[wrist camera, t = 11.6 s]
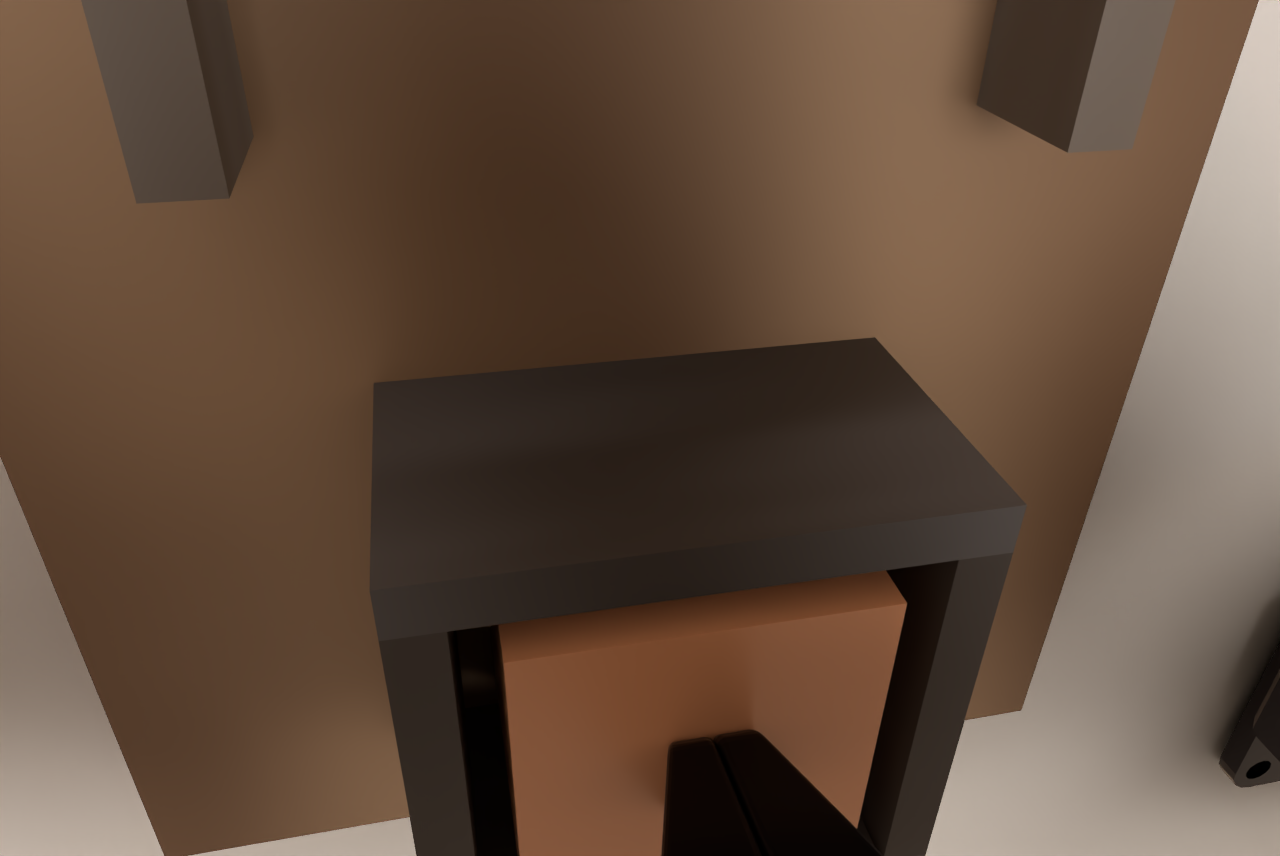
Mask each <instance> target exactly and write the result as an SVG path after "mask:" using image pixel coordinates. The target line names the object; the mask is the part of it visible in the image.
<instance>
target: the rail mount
mask: <svg viewBox="0 0 1280 856" xmlns="http://www.w3.org/2000/svg"><path fill="white" fill-rule="evenodd" d="M1258 1H1259V0H0V457H1V459H2V462H3V464H4V466H5V469H6V471H7V474H8V476H9V479H10V481H11V483H12V486H13V488H14V491H15V493H16V496H17V498H18V500H19V503H20V505H21V508H22V510H23V513H24V515H25V518H26V520H27V522H28V525H29V527H30V530H31V532H32V535H33V537H34V539H35V542H36V544H37V547H38V549H39V552H40V554H41V556H42V559H43V561H44V564H45V566H46V569H47V571H48V574H49V576H50V578H51V581H52V583H53V586H54V588H55V591H56V593H57V595H58V598H59V600H60V603H61V605H62V608H63V610H64V612H65V615H66V617H67V620H68V622H69V625H70V627H71V630H72V632H73V634H74V637H75V639H76V642H77V644H78V647H79V649H80V651H81V654H82V656H83V659H84V661H85V664H86V666H87V668H88V671H89V673H90V676H91V678H92V681H93V683H94V686H95V688H96V690H97V693H98V695H99V698H100V700H101V703H102V705H103V707H104V710H105V712H106V715H107V717H108V720H109V722H110V724H111V727H112V729H113V732H114V734H115V737H116V739H117V741H118V744H119V746H120V749H121V751H122V754H123V756H124V759H125V761H126V763H127V766H128V768H129V771H130V773H131V776H132V778H133V780H134V783H135V785H136V788H137V790H138V793H139V795H140V797H141V800H142V802H143V805H144V807H145V810H146V812H147V815H148V817H149V819H150V822H151V824H152V827H153V829H154V832H155V834H156V836H157V839H158V841H159V844H160V846H161V849H162V851H163V853H164V856H188V855H194V854H200V853H205V852H211V851H217V850H223V849H228V848H234V847H240V846H245V845H251V844H257V843H263V842H268V841H274V840H280V839H286V838H291V837H297V836H303V835H309V834H314V833H320V832H326V831H332V830H337V829H343V828H349V827H355V826H360V825H366V824H372V823H377V822H383V821H389V820H395V819H400V818H406V817H410V821H411V827H412V832H413V838H414V844H415V849H416V855H417V856H517V849H516V841H515V832H514V824H513V816H512V808H511V800H510V792H509V784H508V776H507V768H506V760H505V752H504V744H503V736H502V728H501V720H500V712H499V704H498V696H497V688H496V680H495V669H494V658H493V647H492V636H491V625H499V624H506V623H513V622H520V621H527V620H534V619H541V618H549V617H556V616H563V615H570V614H577V613H584V612H592V611H599V610H606V609H613V608H620V607H627V606H634V605H642V604H649V603H656V602H663V601H670V600H677V599H684V598H692V597H699V596H706V595H713V594H720V593H727V592H734V591H742V590H749V589H756V588H763V587H770V586H777V585H784V584H792V583H799V582H806V581H813V580H820V579H827V578H834V577H842V576H849V575H856V574H863V573H870V572H877V571H884V570H886V571H887V573H888V574H889V576H890V578H891V579H892V581H893V582H894V584H895V585H896V587H897V588H898V590H899V591H900V593H901V595H902V596H903V598H904V599H905V601H906V602H907V607H906V611H905V616H904V620H903V625H902V629H901V634H900V638H899V643H898V647H897V652H896V656H895V661H894V665H893V670H892V674H891V679H890V683H889V688H888V692H887V697H886V701H885V706H884V710H883V715H882V719H881V724H880V728H879V733H878V737H877V742H876V746H875V751H874V755H873V760H872V764H871V769H870V773H869V778H868V782H867V787H866V791H865V795H864V800H863V804H862V809H861V813H860V818H859V822H858V827H857V830H858V831H859V832H860V833H861V834H862V835H863V836H864V837H865V838H866V839H867V840H868V841H869V842H870V843H871V844H872V845H873V846H874V847H875V848H876V849H877V850H878V851H879V852H880V853H881V854H882V855H883V856H925V854H926V851H927V848H928V844H929V841H930V837H931V834H932V830H933V827H934V823H935V820H936V817H937V813H938V810H939V806H940V803H941V799H942V796H943V792H944V789H945V786H946V782H947V779H948V775H949V772H950V768H951V765H952V762H953V758H954V755H955V751H956V748H957V744H958V741H959V737H960V734H961V731H962V727H963V724H964V720H969V719H974V718H980V717H986V716H992V715H997V714H1003V713H1009V712H1015V711H1020V710H1021V709H1022V706H1023V703H1024V700H1025V697H1026V694H1027V691H1028V688H1029V685H1030V682H1031V679H1032V677H1033V674H1034V671H1035V668H1036V665H1037V662H1038V659H1039V656H1040V653H1041V650H1042V647H1043V644H1044V641H1045V638H1046V635H1047V632H1048V629H1049V626H1050V623H1051V620H1052V617H1053V614H1054V611H1055V608H1056V605H1057V602H1058V599H1059V596H1060V593H1061V590H1062V587H1063V584H1064V581H1065V578H1066V575H1067V572H1068V569H1069V566H1070V563H1071V560H1072V557H1073V554H1074V551H1075V548H1076V545H1077V542H1078V539H1079V536H1080V533H1081V530H1082V527H1083V524H1084V521H1085V518H1086V515H1087V512H1088V509H1089V506H1090V503H1091V500H1092V497H1093V494H1094V491H1095V488H1096V485H1097V482H1098V479H1099V476H1100V473H1101V470H1102V467H1103V464H1104V461H1105V458H1106V455H1107V452H1108V449H1109V446H1110V443H1111V440H1112V437H1113V434H1114V431H1115V428H1116V425H1117V422H1118V419H1119V416H1120V413H1121V410H1122V407H1123V404H1124V401H1125V398H1126V395H1127V392H1128V390H1129V387H1130V384H1131V381H1132V378H1133V375H1134V372H1135V369H1136V366H1137V363H1138V360H1139V357H1140V354H1141V351H1142V348H1143V345H1144V342H1145V339H1146V336H1147V333H1148V330H1149V327H1150V324H1151V321H1152V318H1153V315H1154V312H1155V309H1156V306H1157V303H1158V300H1159V297H1160V294H1161V291H1162V288H1163V285H1164V282H1165V279H1166V276H1167V273H1168V270H1169V267H1170V264H1171V261H1172V258H1173V255H1174V252H1175V249H1176V246H1177V243H1178V240H1179V237H1180V234H1181V231H1182V228H1183V225H1184V222H1185V219H1186V216H1187V213H1188V210H1189V207H1190V204H1191V201H1192V198H1193V195H1194V192H1195V189H1196V186H1197V183H1198V180H1199V177H1200V174H1201V171H1202V168H1203V165H1204V162H1205V159H1206V156H1207V153H1208V150H1209V147H1210V144H1211V141H1212V138H1213V135H1214V132H1215V129H1216V126H1217V123H1218V120H1219V117H1220V114H1221V111H1222V108H1223V105H1224V103H1225V100H1226V97H1227V94H1228V91H1229V88H1230V85H1231V82H1232V79H1233V76H1234V73H1235V70H1236V67H1237V64H1238V61H1239V58H1240V55H1241V52H1242V49H1243V46H1244V43H1245V40H1246V37H1247V34H1248V31H1249V28H1250V25H1251V22H1252V19H1253V16H1254V13H1255V10H1256V7H1257V4H1258Z"/></svg>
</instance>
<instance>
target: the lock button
mask: <svg viewBox="0 0 1280 856" xmlns="http://www.w3.org/2000/svg"><path fill="white" fill-rule="evenodd" d="M906 607H907V602H906V601H905V599H904V598H903V596H902V595H901V593H900V591H899V590H898V588H897V587H896V585H895V584H894V582H893V581H892V579H891V578H890V576H889V574H888V573H887V571H886V570H884V571H877V572H870V573H863V574H856V575H849V576H842V577H834V578H827V579H820V580H813V581H806V582H799V583H792V584H784V585H777V586H770V587H763V588H756V589H749V590H742V591H734V592H727V593H720V594H713V595H706V596H699V597H692V598H684V599H677V600H670V601H663V602H656V603H649V604H642V605H634V606H627V607H620V608H613V609H606V610H599V611H592V612H584V613H577V614H570V615H563V616H556V617H549V618H541V619H534V620H527V621H520V622H513V623H506V624H499V625H491V636H492V647H493V658H494V669H495V680H496V688H497V696H498V704H499V712H500V720H501V728H502V736H503V744H504V752H505V760H506V768H507V776H508V784H509V792H510V800H511V808H512V816H513V824H514V832H515V841H516V849H517V856H661V849H662V833H663V817H664V801H665V785H666V769H667V753H668V747H669V745H670V744H671V743H673V742H677V741H683V740H689V739H695V738H701V737H708V738H710V739H711V740H712V741H713V740H714V738H715V737H716V736H717V735H720V734H725V733H731V732H737V731H743V730H749V729H750V730H756V731H758V732H760V733H761V734H763V735H764V736H765V737H766V738H767V739H768V740H769V741H770V742H771V743H772V744H773V745H774V746H775V747H776V748H777V749H778V750H779V751H780V752H781V753H782V754H783V755H784V756H785V757H786V758H787V759H788V760H789V761H790V762H791V763H792V764H793V765H794V766H795V767H796V768H797V769H798V770H799V771H800V772H801V773H802V774H803V775H804V776H805V777H806V778H807V779H808V780H809V781H810V782H811V783H812V784H813V785H814V786H815V787H816V788H817V789H818V790H819V791H820V792H821V793H822V794H823V795H824V796H825V797H826V798H827V799H828V800H829V801H830V802H831V803H832V804H833V805H834V806H835V807H836V808H837V809H838V810H839V811H840V812H841V813H842V814H843V815H844V816H845V817H846V818H847V819H848V820H849V821H850V822H851V823H852V824H853V825H854V827H855V828H856V829H857V827H858V822H859V818H860V813H861V809H862V804H863V800H864V795H865V791H866V787H867V782H868V778H869V773H870V769H871V764H872V760H873V755H874V751H875V746H876V742H877V737H878V733H879V728H880V724H881V719H882V715H883V710H884V706H885V701H886V697H887V692H888V688H889V683H890V679H891V674H892V670H893V665H894V661H895V656H896V652H897V647H898V643H899V638H900V634H901V629H902V625H903V620H904V616H905V611H906Z"/></svg>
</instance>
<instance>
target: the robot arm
mask: <svg viewBox="0 0 1280 856" xmlns="http://www.w3.org/2000/svg"><path fill="white" fill-rule="evenodd" d="M1219 765H1220V767H1221V769H1222V770H1223V771H1224V772H1225V773H1226V775H1227V776H1228V777H1229V778H1230V779H1231V780H1232V781H1233V783H1234V784H1235V785H1236V786H1239V787H1251V786H1256V785H1261V784H1266V783H1271V782H1276V781H1280V643H1279V645H1278V647H1277V649H1276V651H1275V653H1274V654H1273V656H1272V658H1271V660H1270V662H1269V664H1268V666H1267V668H1266V670H1265V672H1264V674H1263V676H1262V678H1261V680H1260V682H1259V684H1258V685H1257V687H1256V689H1255V691H1254V693H1253V695H1252V697H1251V699H1250V701H1249V703H1248V705H1247V707H1246V709H1245V711H1244V713H1243V715H1242V716H1241V718H1240V720H1239V722H1238V724H1237V726H1236V728H1235V730H1234V732H1233V734H1232V736H1231V738H1230V740H1229V742H1228V744H1227V746H1226V747H1225V749H1224V751H1223V753H1222V755H1221V757H1220V761H1219ZM661 856H883V855H882V854H881V853H880V852H879V851H878V850H877V849H876V848H875V847H874V846H873V845H872V844H871V843H870V842H869V841H868V840H867V839H866V838H865V837H864V836H863V835H862V834H861V833H860V832H859V831H858V830H857V829H856V828H855V827H854V825H853V824H852V823H851V822H850V821H849V820H848V819H847V818H846V817H845V816H844V815H843V814H842V813H841V812H840V811H839V810H838V809H837V808H836V807H835V806H834V805H833V804H832V803H831V802H830V801H829V800H828V799H827V798H826V797H825V796H824V795H823V794H822V793H821V792H820V791H819V790H818V789H817V788H816V787H815V786H814V785H813V784H812V783H811V782H810V781H809V780H808V779H807V778H806V777H805V776H804V775H803V774H802V773H801V772H800V771H799V770H798V769H797V768H796V767H795V766H794V765H793V764H792V763H791V762H790V761H789V760H788V759H787V758H786V757H785V756H784V755H783V754H782V753H781V752H780V751H779V750H778V749H777V748H776V747H775V746H774V745H773V744H772V743H771V742H770V741H769V740H768V739H767V738H766V737H765V736H764V735H763V734H761V733H760V732H758V731H756V730H750V729H749V730H743V731H737V732H731V733H725V734H720V735H717V736H716V737H715V738H714V740H713V741H712V740H711V739H710V738H708V737H701V738H695V739H689V740H683V741H677V742H673V743H671V744H670V745H669V747H668V753H667V769H666V785H665V801H664V817H663V833H662V849H661Z"/></svg>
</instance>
